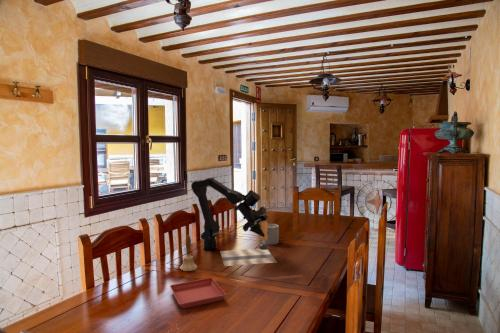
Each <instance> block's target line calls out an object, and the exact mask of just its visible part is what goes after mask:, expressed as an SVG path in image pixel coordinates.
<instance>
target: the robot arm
mask: <svg viewBox="0 0 500 333" xmlns="http://www.w3.org/2000/svg"><path fill="white" fill-rule="evenodd" d="M208 187H210V188H212V189H213V190H215V191H216V192H218V193H220V194H221V195H223V196H224V197H225V199H226V200H227V201H228V203H230V204H231V205H234V210H233V211H234V212H237V211H239V212H240V214H241V215H242V216H243V217H242V220H246V221H247V222H245V223H244V225H243V226H242V230H243V231H244V232H248V231H249V232H252V233H254V234H257V235H258V236H259V237H260V236H262V237H264V236H265V235H264V233H263V232H262V230H261V229H260V221H266V220H268V219H269V216H268V215H267V208H266V207H264V206H259V209H258V210H256V209H253V208H251V207H254V206H255V205H256V204H257V203H258V202H259V201H260V200H261V196H260V194H259V193H257V192H255V191H254V190H252V189H250V190H249V191H248V193H247V194H243V193H242V192H240V191H238V190H234V189H231V188H229V187H227V186H226V185H224V184H223V183H221V182H220V181H218V180H216V179H215V178H214V177H208V178H206V179H201V180H200V179H199V180H194V181H192V183H191V190H192V192H193V194H194V195H195V196H196V197H197V200H198V203H199V205H200V210H201V213H202V218H203V220H204V225H203V230H204V232H202V233H201V234H200V238H201V239H202V240H203V251H213V250H216V248H217V240H216V238H217V236H218V234H219V232H220V230H221V229H220V228H221V226H220V224H219V221H218V220H215V219H214V217H213V213H212V210H211V206H210V202H209V200H208V197H207V192H208ZM236 204H237V205H236ZM267 235H268V231H267Z"/></svg>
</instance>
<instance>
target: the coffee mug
mask: <svg viewBox="0 0 500 333" xmlns="http://www.w3.org/2000/svg"><path fill="white" fill-rule="evenodd" d="M279 226H280V225H278V224H276V223H267V231H268V235H267V240H265V244H268V246H269V245H271V246H272V245H278V244H279V243H280V242H279V240H280V238H279V235H280V234H279V233H280V231H279V230H280V228H279Z"/></svg>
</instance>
